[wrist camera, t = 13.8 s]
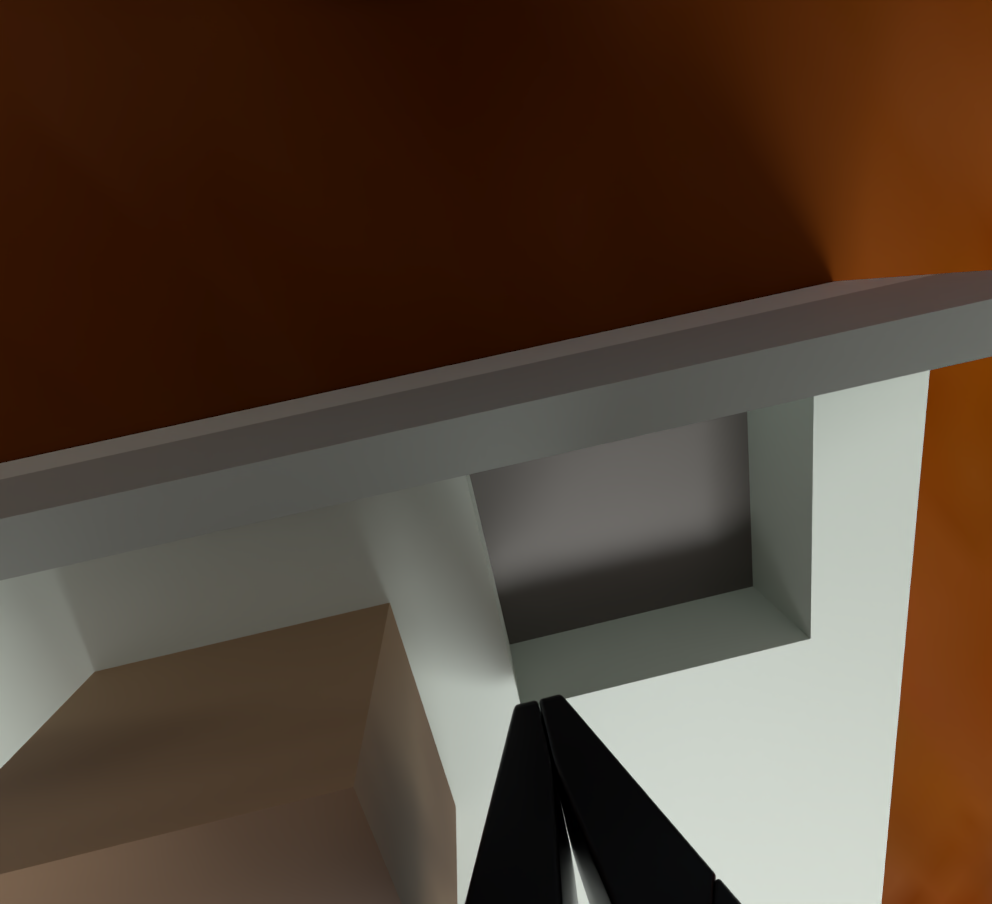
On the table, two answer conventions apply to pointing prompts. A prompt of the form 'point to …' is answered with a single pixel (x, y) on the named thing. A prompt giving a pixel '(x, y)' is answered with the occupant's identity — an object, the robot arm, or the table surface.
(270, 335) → the table surface
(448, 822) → the block
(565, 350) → the tray
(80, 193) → the table surface
